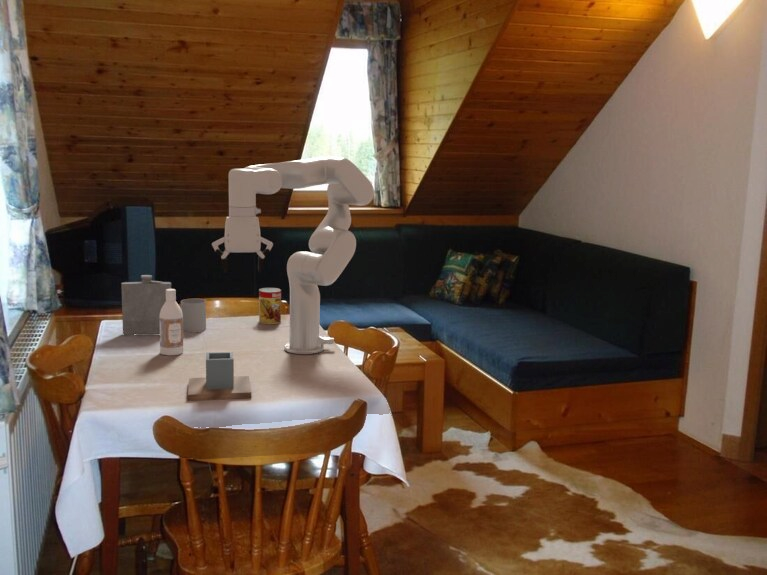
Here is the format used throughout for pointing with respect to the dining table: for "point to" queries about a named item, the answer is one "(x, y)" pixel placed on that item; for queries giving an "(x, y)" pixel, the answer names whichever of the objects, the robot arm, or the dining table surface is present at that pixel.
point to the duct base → (200, 393)
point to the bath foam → (171, 326)
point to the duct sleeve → (219, 370)
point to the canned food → (269, 305)
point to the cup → (194, 315)
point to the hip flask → (143, 305)
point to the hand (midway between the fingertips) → (242, 271)
